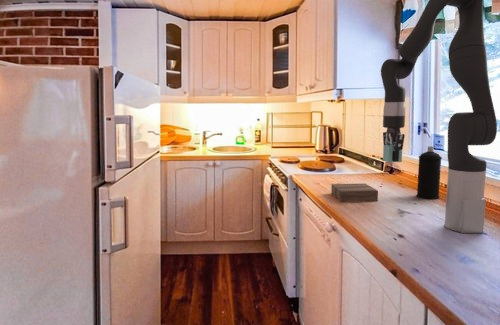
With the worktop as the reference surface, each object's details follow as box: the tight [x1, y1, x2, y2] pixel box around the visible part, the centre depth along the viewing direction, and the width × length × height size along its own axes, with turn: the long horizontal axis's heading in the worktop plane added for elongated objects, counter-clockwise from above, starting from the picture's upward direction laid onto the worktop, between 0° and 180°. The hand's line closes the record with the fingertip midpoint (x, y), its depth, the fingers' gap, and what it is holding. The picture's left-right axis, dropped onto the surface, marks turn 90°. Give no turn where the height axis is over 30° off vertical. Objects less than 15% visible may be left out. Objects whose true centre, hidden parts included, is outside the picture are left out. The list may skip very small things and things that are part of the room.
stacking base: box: [331, 183, 379, 203], centre depth 144 cm, size 14×14×4 cm
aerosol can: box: [415, 145, 443, 200], centre depth 142 cm, size 8×8×20 cm
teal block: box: [382, 144, 403, 163], centre depth 137 cm, size 5×5×6 cm
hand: (392, 160), depth 137 cm, fingers closed on teal block, 5 cm apart
